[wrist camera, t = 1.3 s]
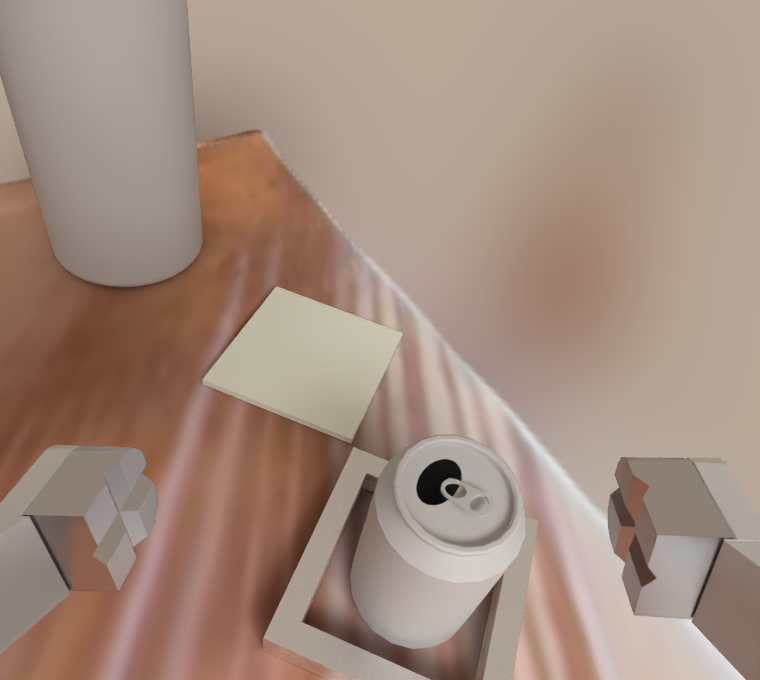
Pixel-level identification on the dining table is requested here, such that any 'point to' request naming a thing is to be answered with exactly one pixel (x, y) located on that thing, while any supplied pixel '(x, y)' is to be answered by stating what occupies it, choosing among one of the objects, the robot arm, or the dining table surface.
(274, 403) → the tile
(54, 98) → the cylinder vase
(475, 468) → the can
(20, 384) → the dining table surface
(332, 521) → the square picture frame
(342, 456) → the dining table surface
